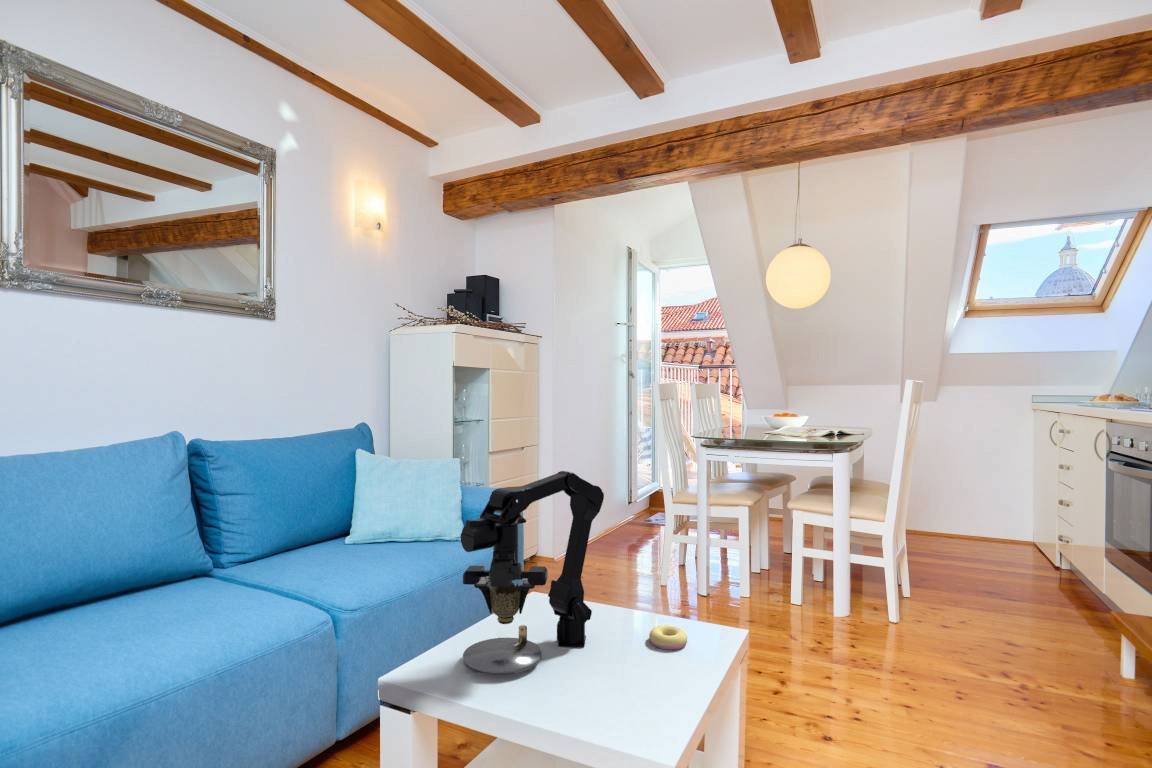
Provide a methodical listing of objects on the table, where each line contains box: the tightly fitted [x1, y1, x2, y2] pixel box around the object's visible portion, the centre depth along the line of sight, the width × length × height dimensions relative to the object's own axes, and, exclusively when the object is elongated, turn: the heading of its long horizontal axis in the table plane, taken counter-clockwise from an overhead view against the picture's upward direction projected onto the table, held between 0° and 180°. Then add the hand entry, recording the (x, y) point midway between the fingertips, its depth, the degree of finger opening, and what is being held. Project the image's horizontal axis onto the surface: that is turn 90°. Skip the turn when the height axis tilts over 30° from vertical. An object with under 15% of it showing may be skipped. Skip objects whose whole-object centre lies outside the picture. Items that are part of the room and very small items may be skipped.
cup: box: [489, 582, 522, 625], centre depth 137 cm, size 8×7×8 cm
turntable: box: [462, 624, 543, 676], centre depth 138 cm, size 18×18×4 cm
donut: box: [648, 624, 688, 650], centre depth 150 cm, size 10×5×9 cm
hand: (505, 613), depth 137 cm, fingers closed on cup, 6 cm apart
